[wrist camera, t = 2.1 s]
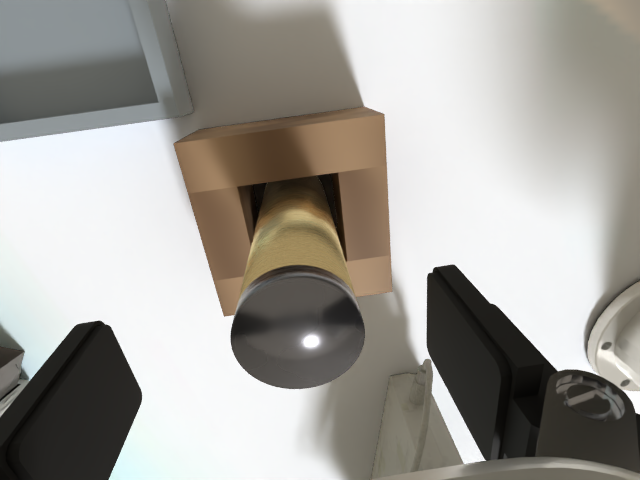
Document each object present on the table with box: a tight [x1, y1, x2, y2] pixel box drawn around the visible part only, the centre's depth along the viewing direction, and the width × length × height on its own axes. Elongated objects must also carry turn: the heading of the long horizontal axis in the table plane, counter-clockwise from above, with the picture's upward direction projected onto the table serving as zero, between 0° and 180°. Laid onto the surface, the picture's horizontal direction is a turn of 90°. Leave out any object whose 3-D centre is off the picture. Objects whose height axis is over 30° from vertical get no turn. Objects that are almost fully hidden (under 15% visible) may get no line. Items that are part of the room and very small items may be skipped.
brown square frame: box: [174, 107, 392, 316], centre depth 21 cm, size 10×10×5 cm
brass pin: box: [231, 176, 365, 389], centre depth 17 cm, size 4×4×14 cm
